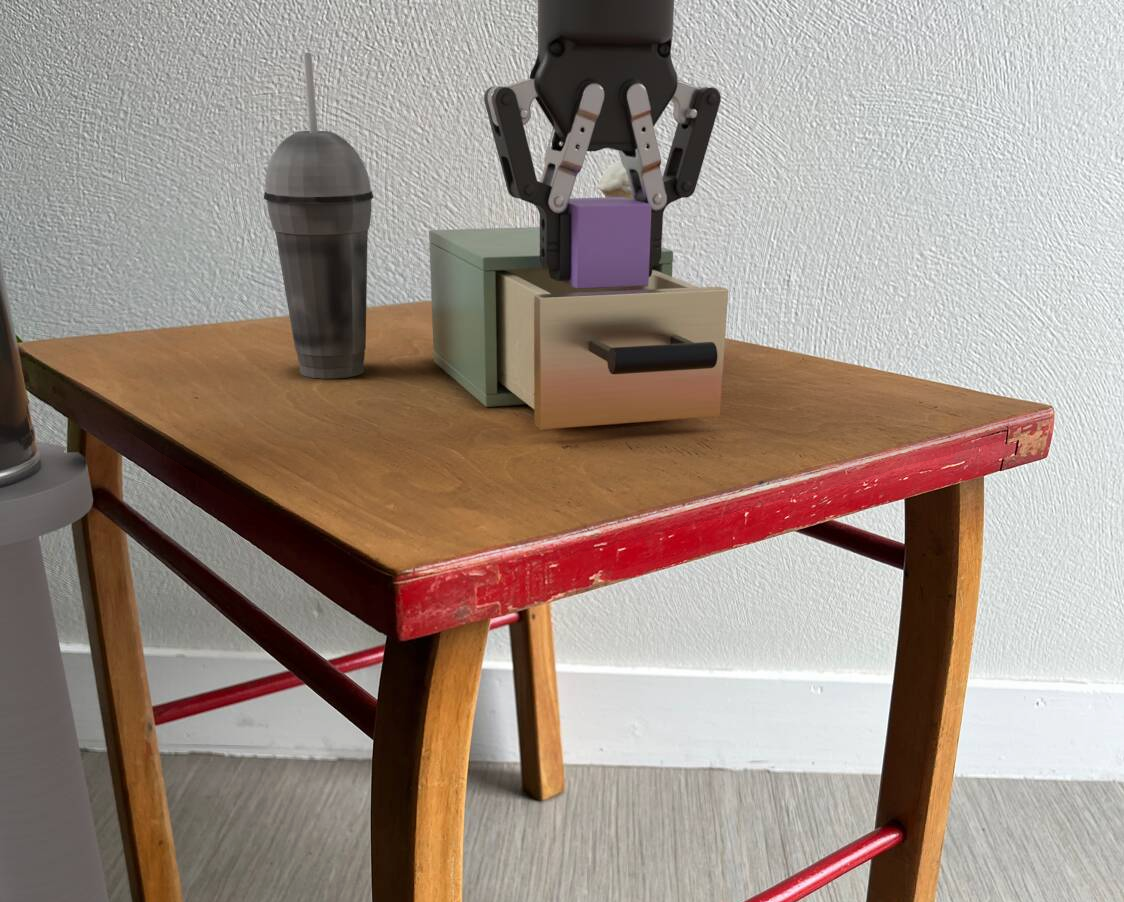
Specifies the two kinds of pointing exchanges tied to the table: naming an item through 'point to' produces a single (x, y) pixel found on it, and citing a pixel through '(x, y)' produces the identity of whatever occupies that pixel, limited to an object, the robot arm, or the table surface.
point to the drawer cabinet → (480, 301)
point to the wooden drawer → (610, 349)
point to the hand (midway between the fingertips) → (599, 275)
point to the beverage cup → (322, 243)
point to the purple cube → (609, 242)
